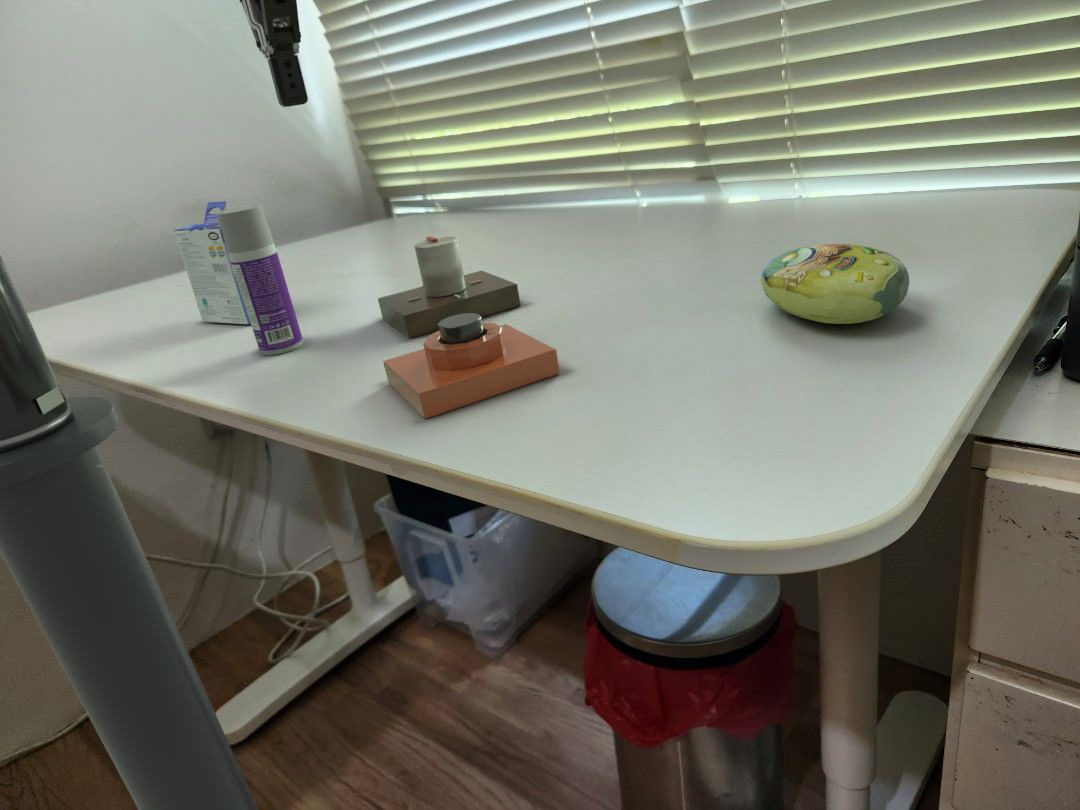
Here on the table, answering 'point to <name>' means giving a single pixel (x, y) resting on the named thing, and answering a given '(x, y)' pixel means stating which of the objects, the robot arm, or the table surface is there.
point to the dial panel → (448, 304)
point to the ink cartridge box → (211, 270)
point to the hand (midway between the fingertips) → (294, 105)
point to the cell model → (836, 283)
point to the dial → (440, 266)
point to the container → (260, 279)
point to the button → (461, 328)
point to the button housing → (469, 369)
